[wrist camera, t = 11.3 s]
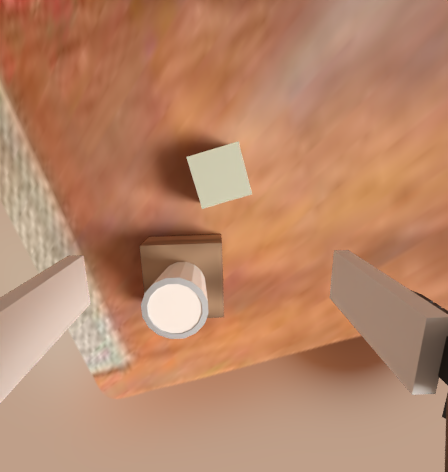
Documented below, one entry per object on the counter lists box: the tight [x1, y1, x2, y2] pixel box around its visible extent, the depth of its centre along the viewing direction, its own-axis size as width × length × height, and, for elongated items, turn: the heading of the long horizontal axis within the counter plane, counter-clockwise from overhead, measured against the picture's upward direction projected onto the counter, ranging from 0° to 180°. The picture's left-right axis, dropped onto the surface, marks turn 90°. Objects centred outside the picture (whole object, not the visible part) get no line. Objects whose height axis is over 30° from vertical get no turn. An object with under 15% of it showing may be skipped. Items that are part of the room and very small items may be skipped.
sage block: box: [186, 142, 252, 209], centre depth 34 cm, size 6×6×6 cm
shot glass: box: [141, 262, 209, 339], centre depth 31 cm, size 7×7×7 cm
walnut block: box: [140, 234, 224, 318], centre depth 37 cm, size 10×10×5 cm
